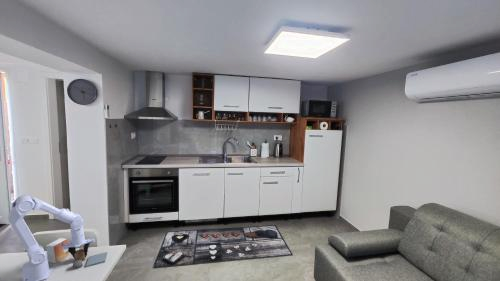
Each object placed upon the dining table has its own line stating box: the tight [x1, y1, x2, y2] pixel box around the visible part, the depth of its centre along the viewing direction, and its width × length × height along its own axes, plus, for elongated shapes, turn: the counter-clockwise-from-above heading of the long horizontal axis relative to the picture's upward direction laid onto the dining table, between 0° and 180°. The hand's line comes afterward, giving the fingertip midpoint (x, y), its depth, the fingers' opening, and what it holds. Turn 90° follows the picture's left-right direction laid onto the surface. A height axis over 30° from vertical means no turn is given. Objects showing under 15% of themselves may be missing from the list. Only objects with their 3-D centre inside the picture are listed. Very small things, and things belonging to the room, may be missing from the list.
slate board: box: [85, 251, 108, 268], centre depth 128 cm, size 9×9×1 cm
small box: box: [45, 237, 70, 264], centre depth 129 cm, size 8×6×10 cm
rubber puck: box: [72, 260, 83, 270], centre depth 122 cm, size 4×4×3 cm
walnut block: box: [74, 248, 87, 262], centre depth 129 cm, size 4×4×5 cm
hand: (80, 257), depth 129 cm, fingers closed on walnut block, 4 cm apart
